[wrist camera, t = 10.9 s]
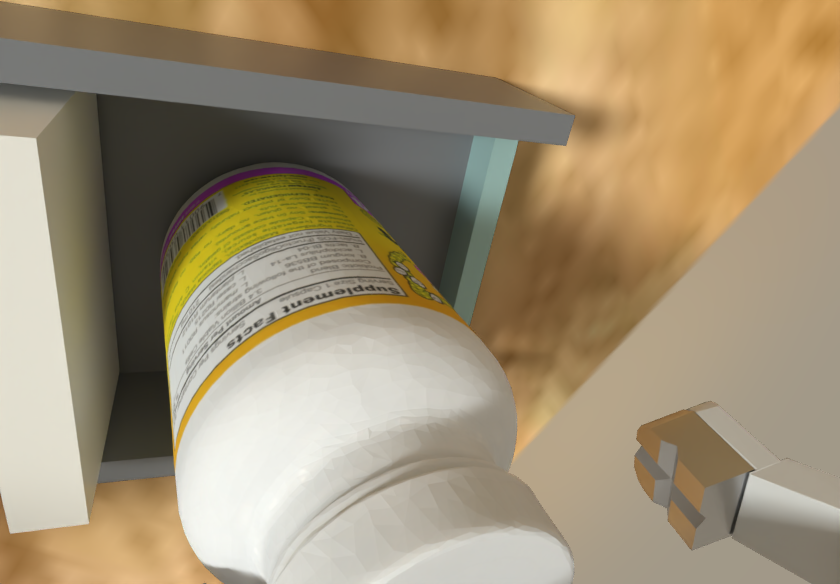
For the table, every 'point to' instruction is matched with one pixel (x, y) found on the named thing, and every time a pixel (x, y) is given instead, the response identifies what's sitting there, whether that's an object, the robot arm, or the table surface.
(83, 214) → the plate
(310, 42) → the table surface
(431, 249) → the pusher lane
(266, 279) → the supplement bottle
